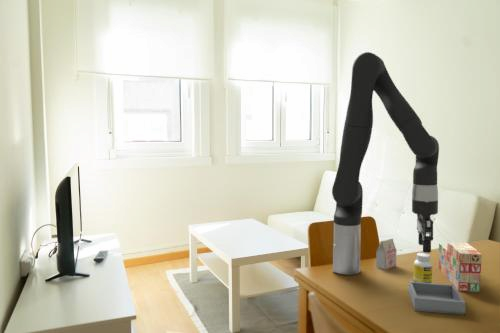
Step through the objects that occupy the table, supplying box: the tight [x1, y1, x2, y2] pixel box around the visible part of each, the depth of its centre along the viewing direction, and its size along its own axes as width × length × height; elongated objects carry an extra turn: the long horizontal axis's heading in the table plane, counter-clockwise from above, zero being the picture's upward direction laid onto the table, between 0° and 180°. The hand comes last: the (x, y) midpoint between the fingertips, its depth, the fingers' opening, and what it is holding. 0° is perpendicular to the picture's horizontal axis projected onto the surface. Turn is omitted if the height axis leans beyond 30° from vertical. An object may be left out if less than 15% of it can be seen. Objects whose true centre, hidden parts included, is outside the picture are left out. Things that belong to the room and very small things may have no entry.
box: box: [407, 280, 466, 316], centre depth 113 cm, size 13×13×4 cm
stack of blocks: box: [438, 241, 483, 293], centre depth 131 cm, size 21×6×12 cm, turn 170°
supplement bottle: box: [412, 252, 433, 283], centre depth 127 cm, size 5×5×10 cm
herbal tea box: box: [375, 238, 397, 271], centre depth 144 cm, size 4×7×10 cm, turn 125°
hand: (424, 248), depth 126 cm, fingers open, 8 cm apart
